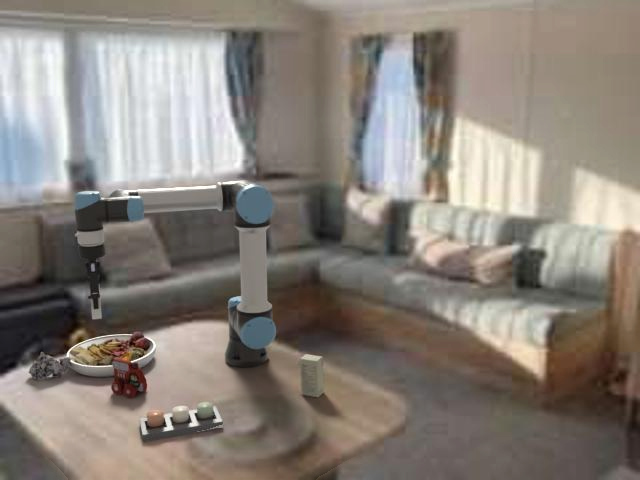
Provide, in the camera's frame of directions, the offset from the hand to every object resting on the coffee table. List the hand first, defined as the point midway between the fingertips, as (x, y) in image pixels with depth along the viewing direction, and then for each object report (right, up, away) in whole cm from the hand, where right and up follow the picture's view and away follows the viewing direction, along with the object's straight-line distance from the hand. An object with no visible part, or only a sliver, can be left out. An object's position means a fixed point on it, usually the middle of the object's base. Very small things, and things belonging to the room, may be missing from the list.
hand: (96, 311), depth 202 cm
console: (+28, -31, -13) cm, 44 cm away
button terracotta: (+22, -30, -15) cm, 40 cm away
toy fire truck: (+8, -27, +9) cm, 29 cm away
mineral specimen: (-23, -24, +20) cm, 39 cm away
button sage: (+35, -29, -11) cm, 46 cm away
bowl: (-5, -22, +33) cm, 40 cm away
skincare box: (+65, -27, +8) cm, 71 cm away
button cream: (+28, -29, -13) cm, 43 cm away
